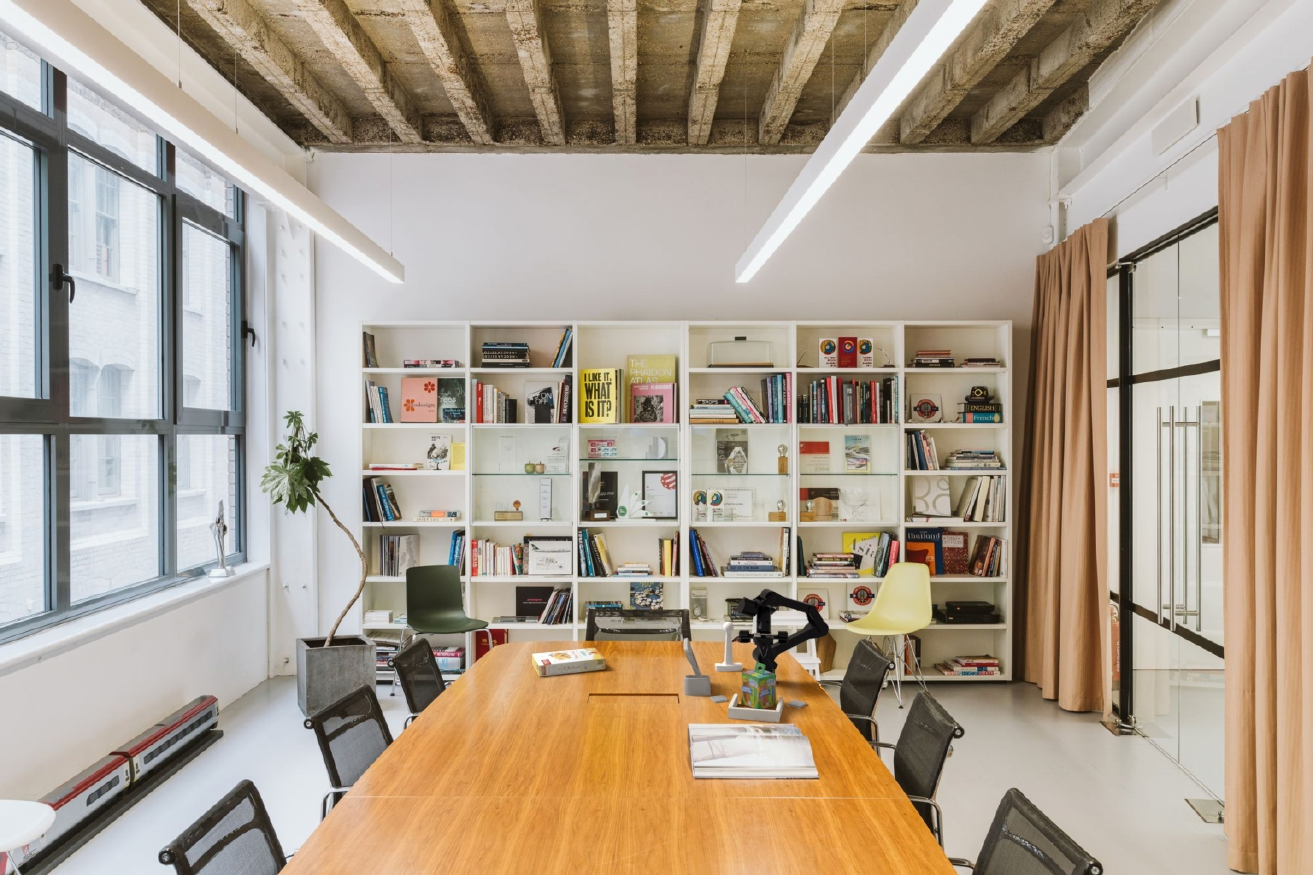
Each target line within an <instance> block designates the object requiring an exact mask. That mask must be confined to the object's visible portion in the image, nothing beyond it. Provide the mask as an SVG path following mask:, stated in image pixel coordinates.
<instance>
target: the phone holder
mask: <svg viewBox="0 0 1313 875" xmlns="http://www.w3.org/2000/svg"><path fill="white" fill-rule="evenodd" d="M683 651H684V654H685V657H686V659H687V661H688V663H689V664H690V666H691V667H692V671H693V673H694V674H687V675H684V677H683V679H684V680H683V681H684V682H683V684H684V685H683V688H684V689H683V690H684V695H685V696H696V697H697V696H707V697H708V696H711V695H712V691H711V690H712V689H711V676H710V675H707V674H702V672H701V669H700V666H699V664H698V661H697V658H696V655H695V653H694V651H693V648H692V644H691V642H690V639H689V638H688V637H686V638H683Z"/></svg>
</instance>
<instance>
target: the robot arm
mask: <svg viewBox="0 0 1313 875" xmlns="http://www.w3.org/2000/svg"><path fill="white" fill-rule="evenodd" d="M775 607H776V608H777V607H778V608H779V607H784V608H788V609H791V610H794V611H796V612H800V613H805V615H806V620H807V623H806V624H805V626H804V627H803V628H801V629H800V630H798V631H796V632H794V633H792V634H790V635H789V632H788V631H787V630H777V633H776V634H775V633H774V634H773V633H772V615H773V614H775V613H776V612H777V609H776V608H775ZM736 610H737V613H738V615H741V616H745V617H749V618H754V617H756V620H755V622H756V623H755V625H756V626H755V632H754V633H750V630H749V629H740V630H739V631H738V640H739V643H741V644H748V643H750V640H752V642H753V644H754V645H755V646H756V647H754V649H753V651H752V654H751V656H752V659H753V660H754V661H755V663H761V664H764V665H765V670H766V671H769V672H771V673H774V674H776V670H777V668H778V663H777V662H776V661H775V660H776V659H777V657H779V655H781V654H783V653H784V652H787V651H789V650H791V649H792V648H795V647H797V646H798V645H799V646H800V645H801V644H802V643H804V642H807V641H809V640H815V639H821V638H824V637H826V636H827V635H828V634H829V632H830V627H829V624H828V623H827V622H825V620H824V618H823V616H822V615H821V614H820V612H819V610H818V608H817V606H815V605H814V604H812V603H809V602H808V603H807V602H803V601H800V600H797V599H793V598H790V597H787V596H783V595H781V594H780V593H778V592H777V591H774V590H771V589H770V588H764V589H762V590H761V591H760V593H759V594H758V595H757V596H756V597H754V598H753V599H750V598H748V597H746V596H743V597H742V599H741V600H740V601H739V603H738V604H737V608H736ZM774 640H775V641H776V642H774ZM758 669H762V667H760V666H759V667H758ZM778 683H779V681H778V680H776V684H778Z"/></svg>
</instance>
